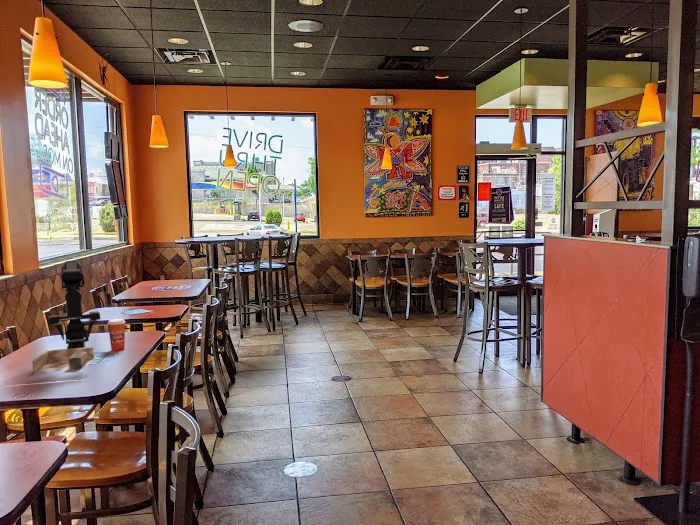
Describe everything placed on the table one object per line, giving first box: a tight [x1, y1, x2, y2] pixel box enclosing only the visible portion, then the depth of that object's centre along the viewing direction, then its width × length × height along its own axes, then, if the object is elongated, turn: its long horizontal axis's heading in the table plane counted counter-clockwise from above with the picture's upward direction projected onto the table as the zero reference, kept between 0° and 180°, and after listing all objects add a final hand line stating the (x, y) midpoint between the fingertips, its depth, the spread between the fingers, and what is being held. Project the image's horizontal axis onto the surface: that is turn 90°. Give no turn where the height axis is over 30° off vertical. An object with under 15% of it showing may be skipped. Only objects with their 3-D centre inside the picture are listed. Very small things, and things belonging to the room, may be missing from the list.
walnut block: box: [69, 352, 88, 370], centre depth 221 cm, size 5×10×5 cm, turn 13°
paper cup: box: [107, 318, 126, 352], centre depth 248 cm, size 8×8×14 cm
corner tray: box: [31, 346, 95, 374], centre depth 222 cm, size 19×17×6 cm
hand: (76, 338), depth 220 cm, fingers open, 9 cm apart
